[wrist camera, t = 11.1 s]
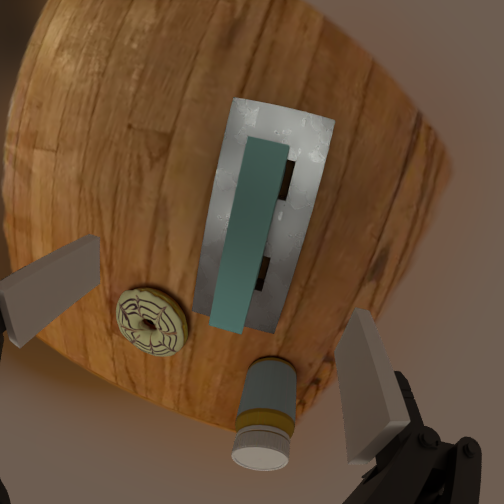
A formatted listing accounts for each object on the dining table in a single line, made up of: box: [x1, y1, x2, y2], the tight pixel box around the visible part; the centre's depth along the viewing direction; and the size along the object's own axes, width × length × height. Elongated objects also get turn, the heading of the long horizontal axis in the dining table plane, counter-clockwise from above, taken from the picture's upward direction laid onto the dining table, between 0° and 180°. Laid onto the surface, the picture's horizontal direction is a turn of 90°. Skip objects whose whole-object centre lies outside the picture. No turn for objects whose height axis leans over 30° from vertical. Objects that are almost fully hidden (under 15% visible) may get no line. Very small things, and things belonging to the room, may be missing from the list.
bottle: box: [231, 357, 296, 471], centre depth 30 cm, size 7×7×15 cm
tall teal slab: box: [209, 136, 290, 334], centre depth 26 cm, size 16×3×10 cm, turn 167°
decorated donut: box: [116, 287, 188, 356], centre depth 35 cm, size 10×11×4 cm
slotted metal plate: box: [192, 97, 335, 334], centre depth 29 cm, size 24×10×3 cm, turn 167°
